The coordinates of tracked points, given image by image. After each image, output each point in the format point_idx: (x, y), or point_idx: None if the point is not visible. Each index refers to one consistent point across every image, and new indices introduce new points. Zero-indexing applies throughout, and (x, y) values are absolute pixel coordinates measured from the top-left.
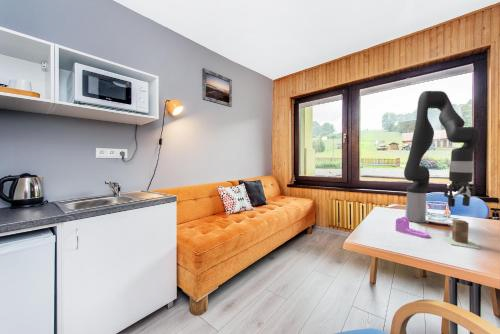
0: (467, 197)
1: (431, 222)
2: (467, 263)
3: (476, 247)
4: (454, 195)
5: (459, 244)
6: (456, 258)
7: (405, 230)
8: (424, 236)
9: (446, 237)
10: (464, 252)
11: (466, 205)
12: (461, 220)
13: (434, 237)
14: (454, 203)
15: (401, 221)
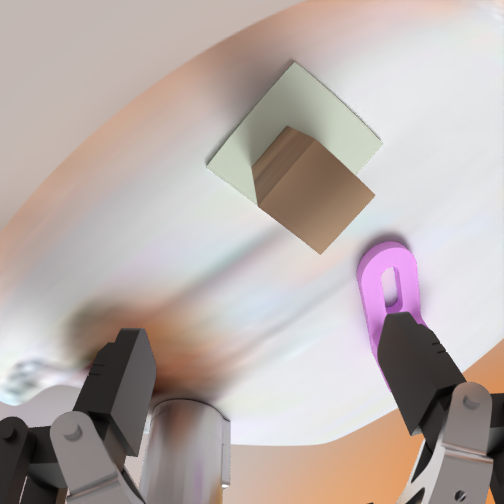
0: (108, 434)
1: None
2: (489, 20)
3: (303, 74)
4: (483, 428)
5: (349, 125)
6: (489, 52)
7: (417, 313)
8: (405, 247)
9: None
10: (414, 64)
11: (146, 340)
12: (277, 219)
13: (350, 240)
14: (412, 339)
15: None
